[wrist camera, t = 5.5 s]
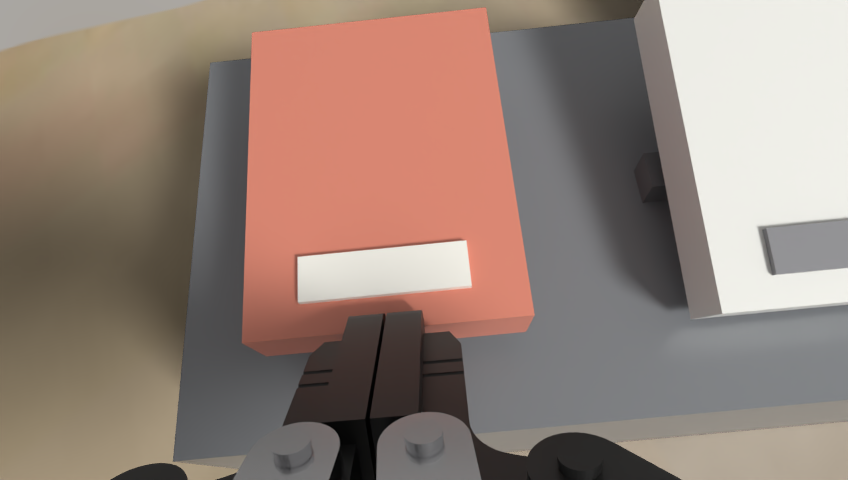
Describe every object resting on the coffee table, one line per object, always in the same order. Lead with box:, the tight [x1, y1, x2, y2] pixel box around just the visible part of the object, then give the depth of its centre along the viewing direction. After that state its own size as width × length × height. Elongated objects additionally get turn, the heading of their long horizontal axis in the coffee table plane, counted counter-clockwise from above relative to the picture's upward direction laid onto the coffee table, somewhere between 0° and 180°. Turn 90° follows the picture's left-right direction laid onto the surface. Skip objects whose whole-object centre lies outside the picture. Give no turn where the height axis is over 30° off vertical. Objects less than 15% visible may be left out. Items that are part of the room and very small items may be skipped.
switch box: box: [173, 18, 848, 469], centre depth 19 cm, size 21×12×9 cm, turn 95°
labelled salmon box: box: [242, 7, 535, 356], centre depth 14 cm, size 6×8×2 cm
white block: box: [634, 0, 848, 319], centre depth 13 cm, size 6×8×2 cm
